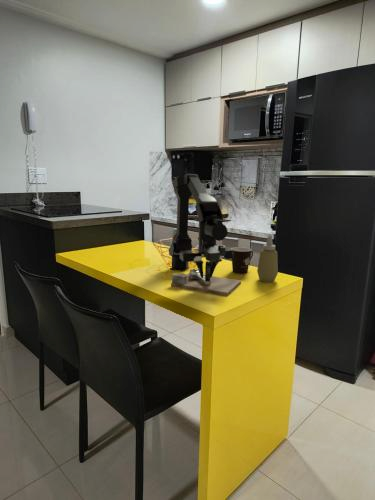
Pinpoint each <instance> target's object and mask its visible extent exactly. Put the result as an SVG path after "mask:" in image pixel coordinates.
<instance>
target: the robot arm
mask: <svg viewBox="0 0 375 500" xmlns="http://www.w3.org/2000/svg"><path fill="white" fill-rule="evenodd" d="M172 181H173V182H172V188H173V192H174V194H175V196H176V198H177V210H176V231H175V234H174V235H173V237H172V241H171V244H170V246H169V248H168V255H169V256H171V267H170V268H169V270H171V271H178V272H185V271H187V270H188V269H190V267H189V262H190V263H191V262H193V263H194V264H195V265H196V268H197V269H198V270H199V273H200V276H201V278H203V275H204V268H203V267H204V266H203V265H204V261H203V260H202V259H203V258H204V259H205V260H206V261H210V262H211V277H212V276H214V273H215V270H216V267H217V265H218V264H219V263H220V262H223V259H222V257H223V258H224V259H225V260H232V259H233V251H232V250H231V248H228V247H226V246H225V244H221V245H218V244H217V241H219V242H221V241H223V240H224V239H226V237H227V236H228V228H227V226H226V225H225V223H223V221H224V218H223V216H224V215H223V212H222V210H221V207H220V204H219V202H218V200H217V199H216V198H215V197H214V196H212V195H210V194H208V192H207V191H206V189H205V186H203V183H202V182H201V180H200V176H199V174H196V173H186V174H183V175H181V176H175V178H174V179H173V180H172ZM191 197H193V198H194V200H195V202H196V203H195V206H194V208H195V212H196V214H197V216H198V218H197V222H198V237H197V240H198V248H197V251H198V252H193V251H192V250H193V244H192V242H193V241H192V238H191V237H190V235H189V234H188V233H189V231H188V229H189V212H190V211H189V210H190V209H189V208H190V207H189V205H190V198H191Z"/></svg>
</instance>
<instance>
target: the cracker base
mask: <svg viewBox="0 0 375 500" xmlns="http://www.w3.org/2000/svg"><path fill="white" fill-rule="evenodd" d="M185 274H186V275H181V273H173V274H172V275H171V283H170V286H171V287H173V288H180V289H185V290H191V291H197V292H200V293H201V292H202V293H206V294H207V293H208V294H213V295H219V296H225V297H228V296H229V295H231V293H233V291H235V290H236V289H237V288H238V287H239V286H240V285H241V284H242V280H239V279H233V278H226V277H221V276H220V277H219V276H214V275H212V277H211V279H210V280H211V284H209V285H205V284H203V283H202V282H201V281H199V280H198V279H191V278H190V272H188V273H185ZM203 275H204V276H205V274H203Z"/></svg>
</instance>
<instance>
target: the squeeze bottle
mask: <svg viewBox="0 0 375 500" xmlns="http://www.w3.org/2000/svg"><path fill="white" fill-rule="evenodd" d="M278 260H279V259H278V251H277V250H276V245H275V244H274V243H273V237H272V235H268V237H267V240H266V243H265V244H263V246H262V249H261V250H260V252H259V259H258V264H257V270H256V271H257V275H258V279H259V281H260V282H264V283H274V282H275V281H276V278H277V276H278V273H279V269H278V268H279V267H278V265H279V263H278V262H279V261H278Z"/></svg>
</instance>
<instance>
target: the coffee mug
mask: <svg viewBox="0 0 375 500" xmlns="http://www.w3.org/2000/svg"><path fill="white" fill-rule="evenodd" d="M230 250H232V251H233V259H231V265H232V266H231V267H232V273H234V274H237V275H246V274H248V272H249V266H250V261H251V260H252V258H253V255H254V251H253V250H252V249H251V248H249V247H244V246H243V247H242V246H240V247H239V246H236V247H231V248H230Z"/></svg>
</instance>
